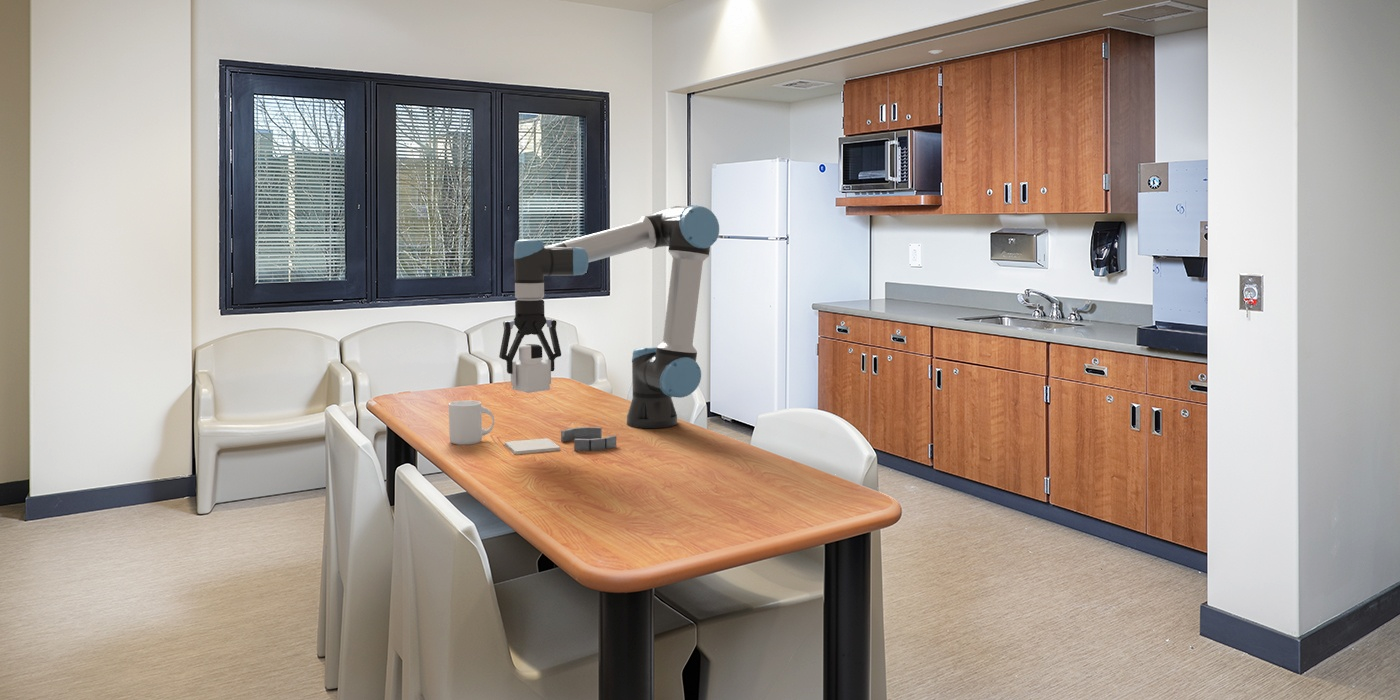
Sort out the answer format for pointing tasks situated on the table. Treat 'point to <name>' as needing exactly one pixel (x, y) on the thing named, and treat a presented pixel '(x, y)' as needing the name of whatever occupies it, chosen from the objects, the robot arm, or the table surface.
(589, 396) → the table surface
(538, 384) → the medicine bottle
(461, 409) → the mug
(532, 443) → the tile
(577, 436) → the cradle
